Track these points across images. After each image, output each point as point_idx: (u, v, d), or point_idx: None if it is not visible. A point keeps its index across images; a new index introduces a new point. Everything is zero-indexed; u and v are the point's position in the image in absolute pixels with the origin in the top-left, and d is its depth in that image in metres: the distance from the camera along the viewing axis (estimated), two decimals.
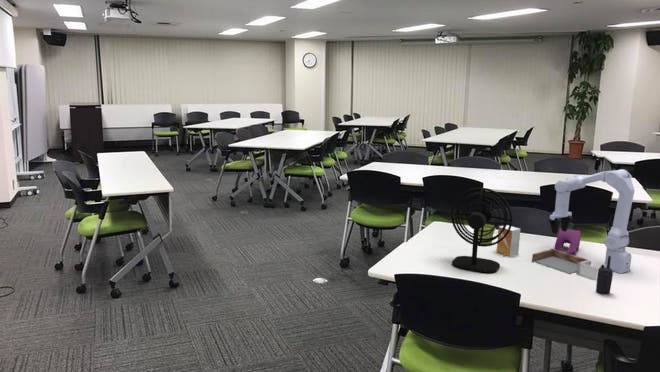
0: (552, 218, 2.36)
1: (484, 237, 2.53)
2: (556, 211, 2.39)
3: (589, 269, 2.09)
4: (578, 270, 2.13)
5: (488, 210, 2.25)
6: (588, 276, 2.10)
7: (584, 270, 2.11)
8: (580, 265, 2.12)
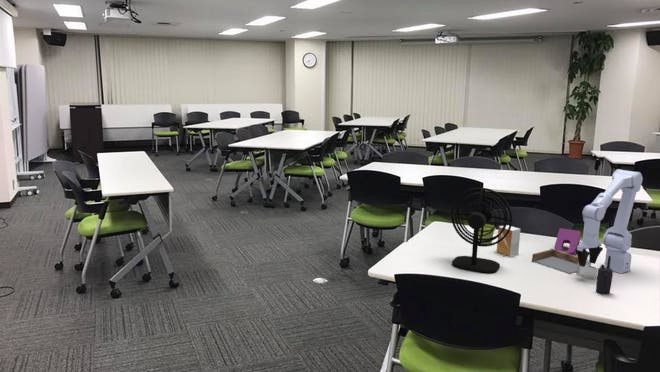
0: (580, 249, 2.05)
1: (484, 237, 2.53)
2: (584, 241, 2.08)
3: (589, 269, 2.09)
4: (578, 270, 2.13)
5: (488, 210, 2.25)
6: (588, 276, 2.10)
7: (584, 270, 2.11)
8: None
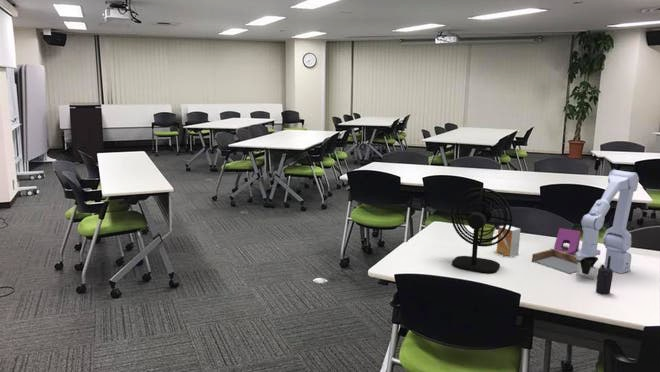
0: (579, 258, 2.06)
1: (484, 237, 2.53)
2: (583, 250, 2.08)
3: (589, 269, 2.09)
4: (578, 270, 2.13)
5: (488, 210, 2.25)
6: (588, 276, 2.10)
7: None
8: (580, 265, 2.12)
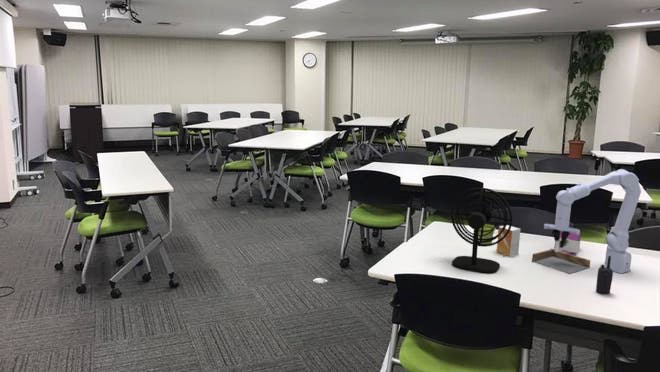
0: None
1: (484, 237, 2.53)
2: None
3: None
4: None
5: (488, 210, 2.25)
6: None
7: None
8: None
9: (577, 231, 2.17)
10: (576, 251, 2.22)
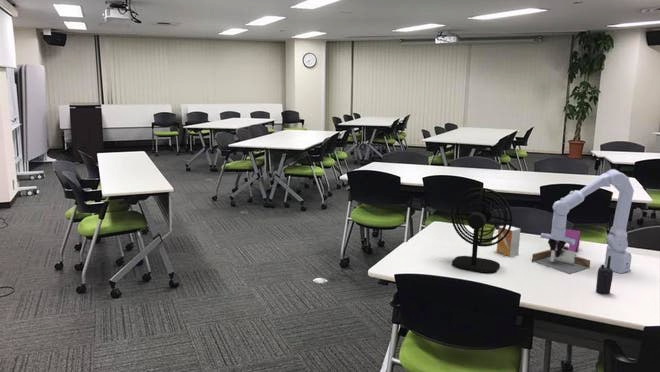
0: None
1: (484, 237, 2.53)
2: None
3: None
4: None
5: (488, 210, 2.25)
6: None
7: None
8: None
9: (572, 241, 2.19)
10: (572, 261, 2.24)
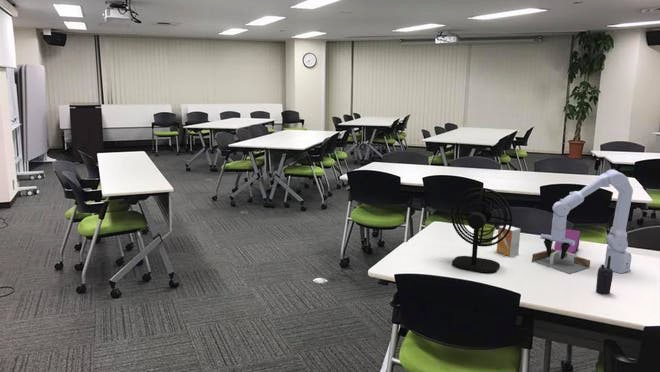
0: None
1: (484, 237, 2.53)
2: None
3: None
4: None
5: (488, 210, 2.25)
6: None
7: None
8: None
9: (572, 242, 2.19)
10: (571, 263, 2.24)
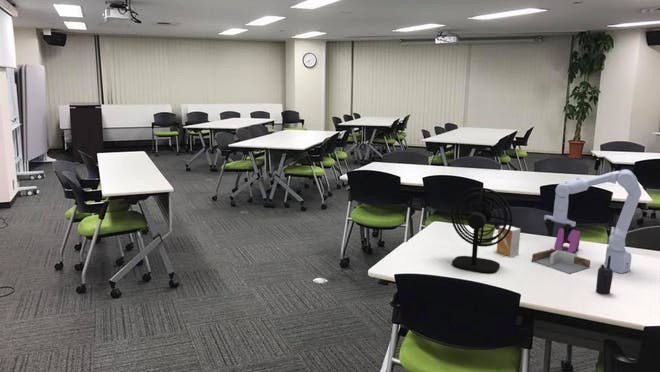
0: None
1: (484, 237, 2.53)
2: None
3: None
4: None
5: (488, 210, 2.25)
6: None
7: None
8: None
9: (572, 223, 2.23)
10: (571, 263, 2.24)
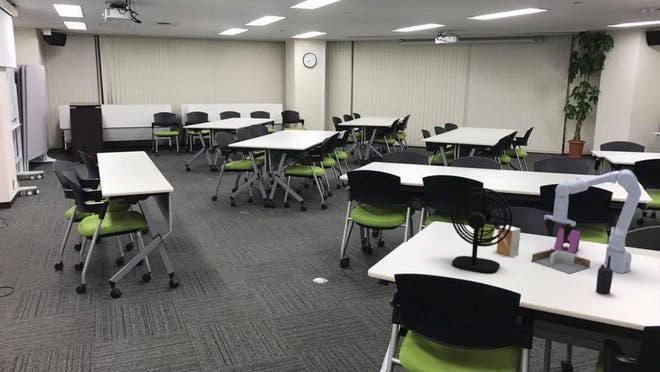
0: None
1: (484, 237, 2.53)
2: None
3: None
4: None
5: (488, 210, 2.25)
6: None
7: None
8: None
9: (572, 223, 2.23)
10: (571, 263, 2.24)
